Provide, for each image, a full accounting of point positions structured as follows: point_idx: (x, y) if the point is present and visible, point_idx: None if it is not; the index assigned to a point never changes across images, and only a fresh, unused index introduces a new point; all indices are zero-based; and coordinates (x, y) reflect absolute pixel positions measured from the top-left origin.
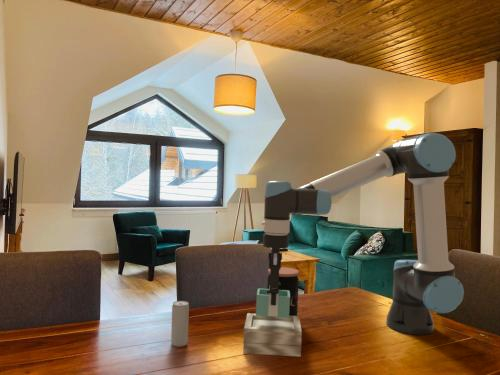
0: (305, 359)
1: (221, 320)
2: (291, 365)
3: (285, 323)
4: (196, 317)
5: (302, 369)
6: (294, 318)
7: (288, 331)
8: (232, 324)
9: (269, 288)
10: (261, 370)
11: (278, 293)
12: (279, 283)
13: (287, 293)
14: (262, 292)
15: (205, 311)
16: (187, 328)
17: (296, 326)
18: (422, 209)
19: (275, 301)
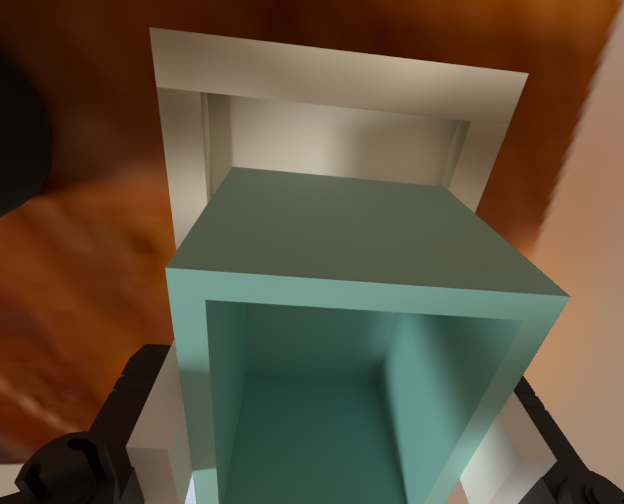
0: (487, 43)
1: (77, 367)
2: (530, 131)
3: (279, 161)
4: (84, 427)
5: (584, 82)
6: (225, 86)
7: (486, 172)
8: (106, 334)
9: (190, 479)
10: (534, 249)
11: (219, 362)
12: (73, 476)
13: (302, 296)
14: (225, 471)
15: (3, 412)
16: None
17: (414, 99)
18: None
19: (538, 401)
